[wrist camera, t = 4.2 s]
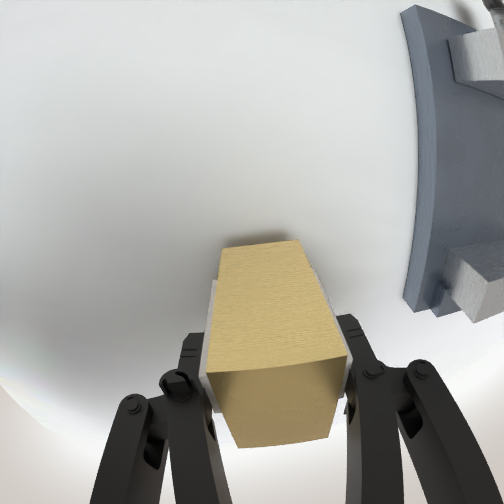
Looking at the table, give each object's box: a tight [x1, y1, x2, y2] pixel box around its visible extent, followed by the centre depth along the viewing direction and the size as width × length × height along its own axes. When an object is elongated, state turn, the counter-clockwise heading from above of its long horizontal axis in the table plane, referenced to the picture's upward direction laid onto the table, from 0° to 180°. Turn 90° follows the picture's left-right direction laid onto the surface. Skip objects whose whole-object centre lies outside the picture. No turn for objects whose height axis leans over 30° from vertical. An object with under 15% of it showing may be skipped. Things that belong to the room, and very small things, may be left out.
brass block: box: [206, 240, 348, 448], centre depth 12 cm, size 4×6×8 cm, turn 7°
